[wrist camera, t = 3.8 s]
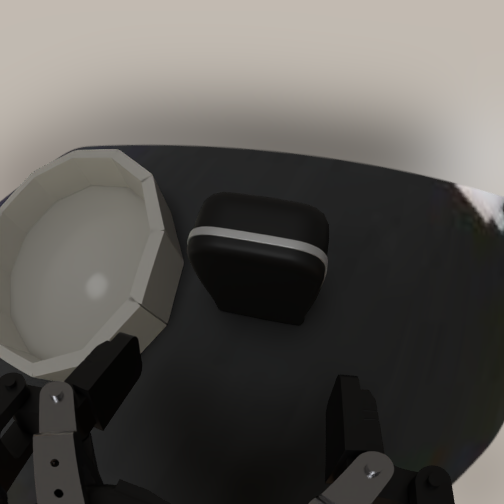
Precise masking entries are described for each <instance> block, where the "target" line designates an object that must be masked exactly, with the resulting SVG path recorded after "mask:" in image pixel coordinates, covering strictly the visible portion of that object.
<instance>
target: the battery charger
mask: <svg viewBox="0 0 504 504" xmlns="http://www.w3.org/2000/svg"><path fill="white" fill-rule="evenodd" d="M328 243H329V224H328V222H327V220H326V218H325V216H324V214H323V213H322V212H320V211H319V210H318V209H317V208H315V207H313V206H310V205H307V204H303V203H298V202H293V201H287V200H281V199H275V198H269V197H262V196H255V195H247V194H239V193H230V192H222V193H216V194H213V195H211V196H210V197H208V198H207V199H206V200H205V201H204V203H203V205H202V207H201V209H200V211H199V214H198V217H197V220H196V223H195V225H194V228H193V230H192V231H191V232H190V234H189V237H188V240H187V245H188V246H187V255H188V259H189V261H190V263H191V265H192V267H193V269H194V271H195V273H196V274H197V276H198V278H199V279H200V281H201V282H202V284H203V285H204V287H205V288H206V289H207V291H208V292H209V294H210V295H211V296H212V298H213V299H214V301H215V303H216V305H217V307H218V308H219V309H220V310H223V311H227V312H232V313H236V314H241V315H246V316H251V317H256V318H261V319H267V320H272V321H277V322H283V323H289V324H295V325H301V324H302V323H303V321H304V318H305V317H306V313H307V312H308V310H309V309H310V307H311V306H312V304H313V303H314V301H315V300H316V298H317V296H318V294H319V291H320V289H321V286H322V284H323V281H324V279H325V276H326V273H327V266H328V258H327V252H328Z"/></svg>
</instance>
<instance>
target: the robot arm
mask: <svg viewBox="0 0 504 504" xmlns="http://www.w3.org/2000/svg"><path fill="white" fill-rule="evenodd" d="M141 371H142V361H141V354H140V347H139V340H138V338H137V337H136V336H133V335H129V334H126V333H122V332H119V333H118V334H117V335H116V336H115V337H114V338H113V339H112V340H111V341H108V340H107V341H105V342H103V343H101V344H99V345H97V346H96V347H95V348H94V349H93V350H92V351H91V353H90V355H88V356H87V357H86V358H85V360H84V361H82V362H81V363H80V364H79V365H78V366H77V368H76V369H75V370H74V371H73V372H72V373H71V374H70V375H69V376H68V377H67V378H66V379H65V381H64V382H62V381H53V382H50V383H48V384H46V385H45V386H44V387H43V388H41V387H36V386H31V385H27V384H26V381H25V379H24V377H23V376H22V375H20V374H18V373H8V374H5V375H3V376H2V377H1V378H0V433H1V431H2V429H3V428H4V427H5V426H6V424H7V423H8V422H9V421H10V419H11V418H12V417H13V419H14V420H15V421H14V422H13V424H12V425H11V426H10V427H9V429H8V430H7V431H6V433H5V434H4V435H3V436H2V438H1V439H0V504H8V502H7V501H8V497H7V491H8V490H9V488H10V486H11V485H12V483H13V482H14V480H15V479H16V477H17V476H18V474H19V472H20V471H21V469H22V468H23V466H24V465H25V463H26V462H27V460H28V459H29V457H30V456H31V454H32V453H33V458H34V474H35V486H36V495H37V504H170V503H168V502H167V501H165V500H163V499H162V498H160V497H158V496H157V495H155V494H153V493H152V492H150V491H148V490H146V489H144V488H141V487H138V486H136V485H133V484H130V483H128V482H125V481H123V480H121V479H120V480H119V482H118V484H117V485H108V484H105V485H104V484H103V481H102V479H101V477H100V474H99V471H98V467H97V462H96V458H95V453H94V447H93V442H92V436H91V433H90V431H91V430H92V428H93V427H95V428H97V429H100V430H102V431H103V430H104V429H105V427H106V426H107V424H108V423H109V422H110V420H111V419H112V417H113V416H114V414H115V413H116V411H117V410H118V408H119V407H120V405H121V404H122V402H123V401H124V399H125V398H126V396H127V395H128V393H129V392H130V390H131V389H132V388H133V386H134V385H135V383H136V382H137V380H138V379H139V377H140V375H141ZM378 419H379V418H378V412H377V406H376V401H375V399H374V397H373V396H372V394H371V393H370V391H369V390H360V385H359V379H358V377H357V376H350V375H338V376H337V379H336V381H335V384H334V387H333V390H332V393H331V396H330V398H329V401H328V405H327V410H326V469H325V483H329V484H332V485H331V486H329V487H328V488H327V489H326V490H325V491H324V492H323V493H322V494H321V495H320V496H317V497H315V498H314V499H313V500H312V501H311V502H310V503H308V504H455V503H454V496H453V491H452V484H451V479H450V476H449V474H448V473H447V472H446V471H445V470H444V469H443V468H441V467H438V466H427V467H424V468H422V469H421V470H420V471H419V472H414V471H409V470H405V469H401V468H398V467H396V466H394V465H393V463H392V461H391V460H390V458H389V457H387V456H386V455H385V454H384V450H383V443H382V436H381V430H380V424H379V421H378Z"/></svg>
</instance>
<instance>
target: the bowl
mask: <svg viewBox="0 0 504 504" xmlns="http://www.w3.org/2000/svg"><path fill="white" fill-rule="evenodd" d="M183 262H184V260H183V256H182V253H181V249H180V245H179V241H178V238H177V234H176V230H175V226H174V222H173V218H172V214H171V211H170V209H169V207H168V205H167V203H166V201H165V199H164V197H163V195H162V193H161V191H160V189H159V187H158V185H157V183H156V181H155V179H154V177H153V175H152V174H151V173H150V172H148V171H147V170H146V169H144V168H143V167H142V166H140V165H139V164H138V163H136V162H135V161H134V160H132V159H131V158H130V157H128V156H127V155H125V154H124V153H123V152H121V151H120V150H118V149H100V150H76V151H73V152H71V153H69V154H67V155H64V156H62V157H60V158H59V159H57V160H55V161H53V162H51V163H49V164H47V165H45V166H43V167H42V168H39V169H38V170H36V171H34V173H32V174H31V175H30V176H29V177H28V178H27V179H26V180H25V181H24V182H23V183H22V184H21V185H20V186H19V187H18V188H17V189H16V190H15V192H14V193H13V194H12V195H11V196H10V197H9V198H8V199H7V200H6V202H5V203H4V204H3V205H2V206H1V207H0V358H1V359H3V360H4V361H6V362H8V363H9V364H11V365H12V366H14V367H16V368H17V369H19V370H21V371H22V372H24V373H26V374H28V375H29V376H31V377H35V378H40V379H46V380H52V381H62V382H64V381H65V379H66V378H67V377H68V376H69V375H70V374H71V373H72V372H73V371H74V370H75V369H76V368H77V366H78V365H79V364H80V363H81V362H82V361H84V360H85V358H86V357H87V356H88V355H90V353H91V351H92V350H93V349H94V348H95V347H96V346H97V345H99V344H101V343H103V342H105V341H107V340H108V341H111V340H112V339H113V338H114V337H115V336H116V335H117V334H118V333H119V332H122V333H126V334H129V335H133V336H136V337H137V338H138V340H139V347H140V354H141V353H142V352H143V351H144V349H145V348H146V347H147V346H148V345H149V344H150V343H151V342H152V341H153V340H154V339H155V338H156V336H157V335H158V334H159V333H160V332H161V331H162V330H163V329H164V328H165V327H166V326H167V325H166V324H165V323H167V324H168V321H169V317H170V313H171V309H172V305H173V302H174V298H175V294H176V290H177V287H178V283H179V280H180V276H181V272H182V269H183V265H184V263H183Z"/></svg>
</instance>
